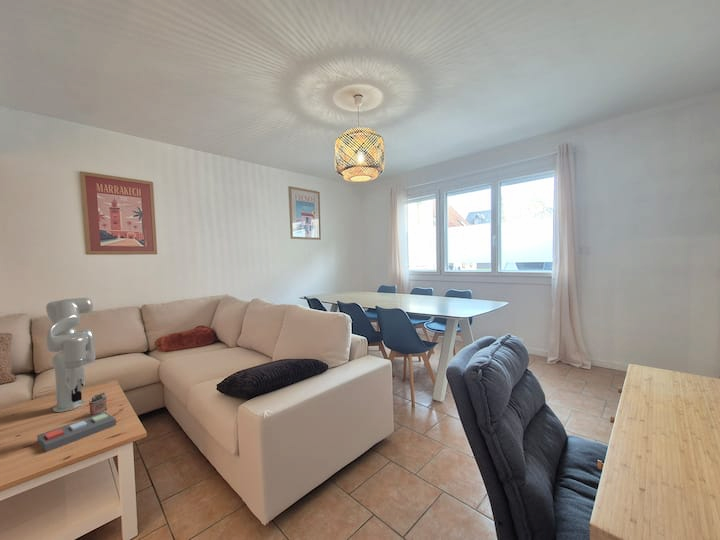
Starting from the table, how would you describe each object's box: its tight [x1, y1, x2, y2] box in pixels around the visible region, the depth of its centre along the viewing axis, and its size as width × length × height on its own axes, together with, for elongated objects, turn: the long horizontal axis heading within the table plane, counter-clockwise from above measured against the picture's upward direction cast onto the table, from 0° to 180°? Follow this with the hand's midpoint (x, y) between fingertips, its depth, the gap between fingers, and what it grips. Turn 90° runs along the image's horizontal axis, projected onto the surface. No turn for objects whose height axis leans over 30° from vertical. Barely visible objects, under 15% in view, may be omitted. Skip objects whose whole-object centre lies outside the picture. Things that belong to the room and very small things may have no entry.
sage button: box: [92, 413, 108, 423], centre depth 145 cm, size 5×5×3 cm
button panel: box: [36, 411, 117, 453], centre depth 138 cm, size 14×24×3 cm, turn 148°
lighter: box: [88, 392, 108, 417], centre depth 157 cm, size 8×3×10 cm, turn 168°
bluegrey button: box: [69, 421, 87, 431], centre depth 138 cm, size 5×5×3 cm
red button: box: [45, 429, 64, 440], centre depth 131 cm, size 5×5×3 cm
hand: (76, 400), depth 140 cm, fingers closed
